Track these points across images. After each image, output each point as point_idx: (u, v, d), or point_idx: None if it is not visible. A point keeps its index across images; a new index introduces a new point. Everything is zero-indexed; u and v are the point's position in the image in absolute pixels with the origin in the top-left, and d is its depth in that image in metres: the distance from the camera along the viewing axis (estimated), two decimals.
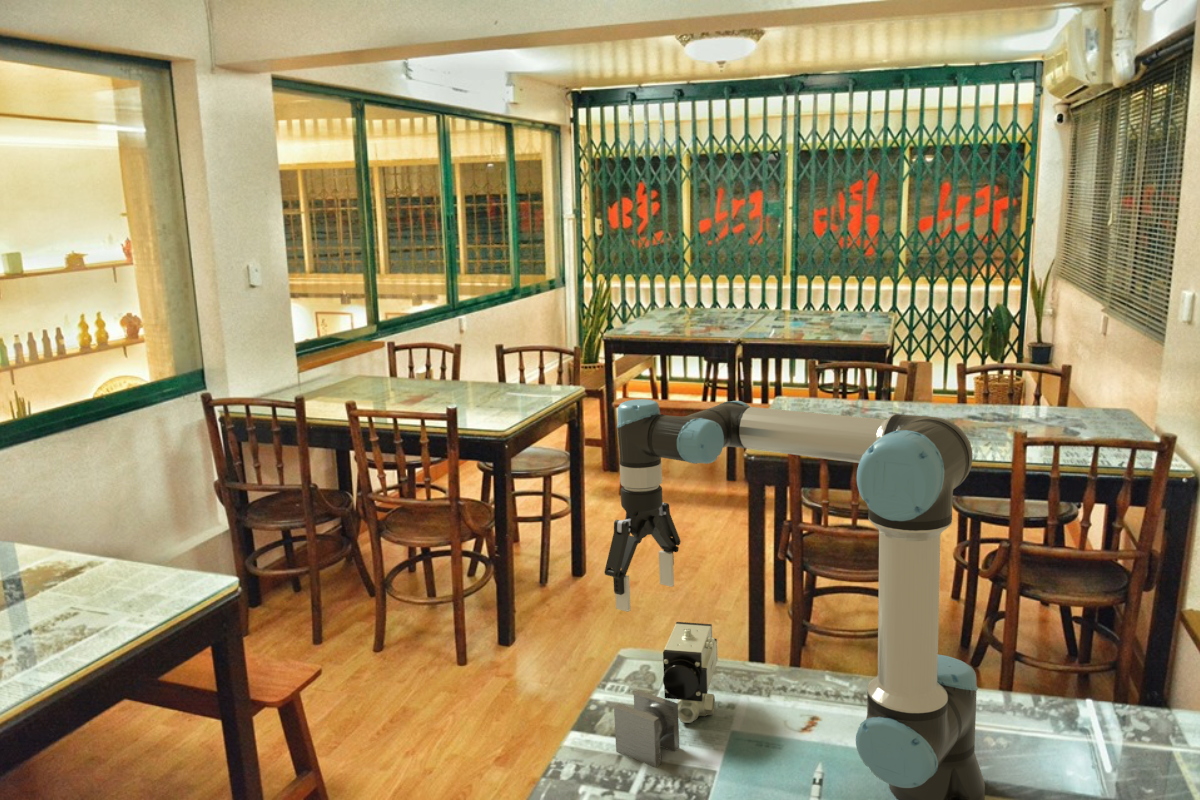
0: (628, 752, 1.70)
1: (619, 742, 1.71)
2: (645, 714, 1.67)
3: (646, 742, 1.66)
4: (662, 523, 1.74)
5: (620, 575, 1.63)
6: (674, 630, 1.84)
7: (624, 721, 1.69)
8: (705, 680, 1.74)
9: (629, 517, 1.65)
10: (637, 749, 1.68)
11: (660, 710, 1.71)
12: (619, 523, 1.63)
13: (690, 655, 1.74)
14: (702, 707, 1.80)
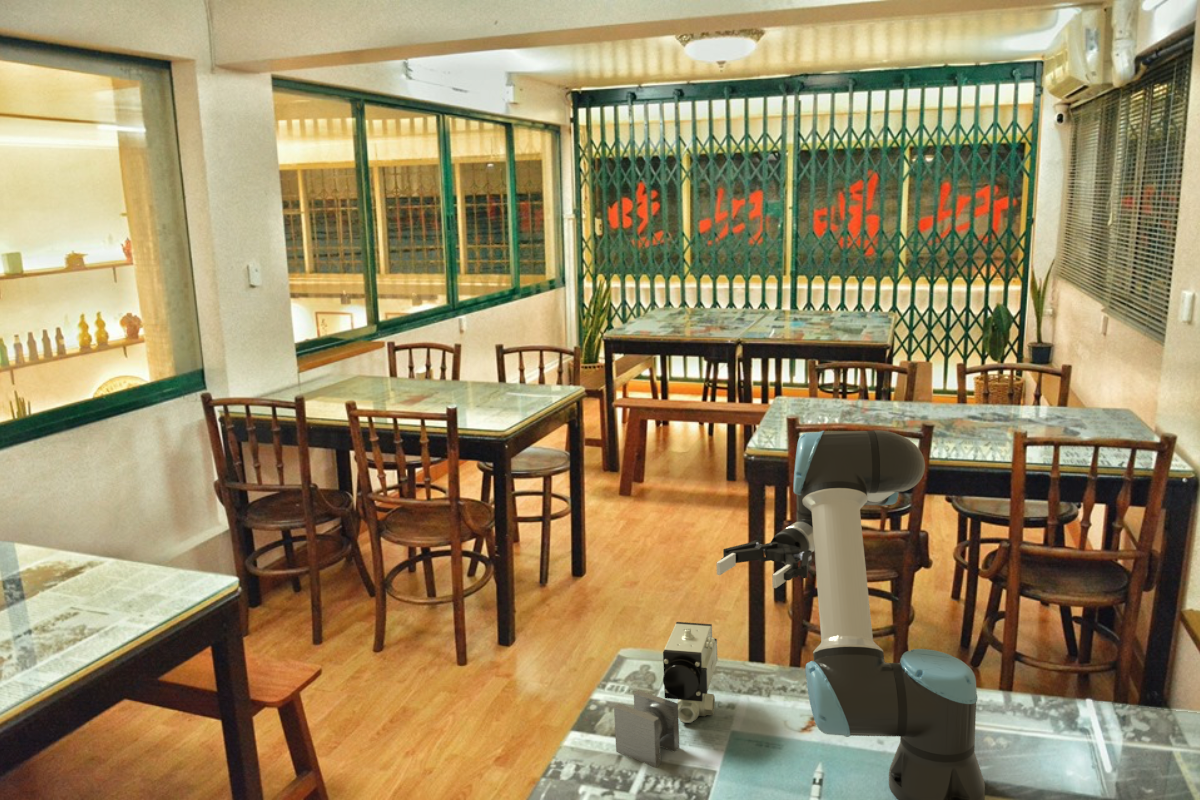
0: (628, 752, 1.70)
1: (619, 742, 1.71)
2: (645, 714, 1.67)
3: (646, 742, 1.66)
4: None
5: (729, 552, 1.99)
6: (674, 630, 1.84)
7: (624, 721, 1.69)
8: (705, 680, 1.74)
9: None
10: (637, 749, 1.68)
11: (660, 710, 1.71)
12: None
13: (690, 655, 1.74)
14: (702, 707, 1.80)
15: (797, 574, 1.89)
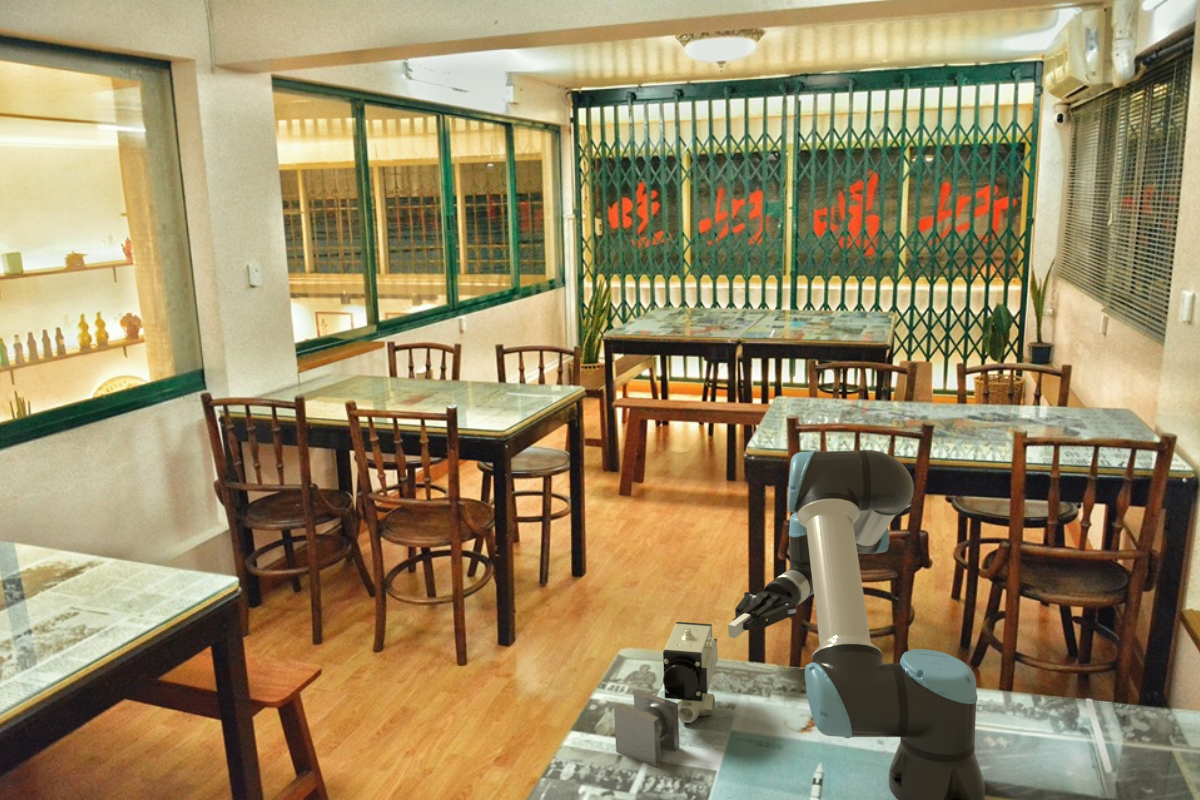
0: (628, 752, 1.70)
1: (619, 742, 1.71)
2: (645, 714, 1.67)
3: (646, 742, 1.66)
4: None
5: (741, 612, 1.98)
6: (674, 630, 1.84)
7: (624, 721, 1.69)
8: (705, 680, 1.74)
9: None
10: (637, 749, 1.68)
11: (660, 710, 1.71)
12: None
13: (690, 655, 1.74)
14: (702, 707, 1.80)
15: (756, 623, 1.95)
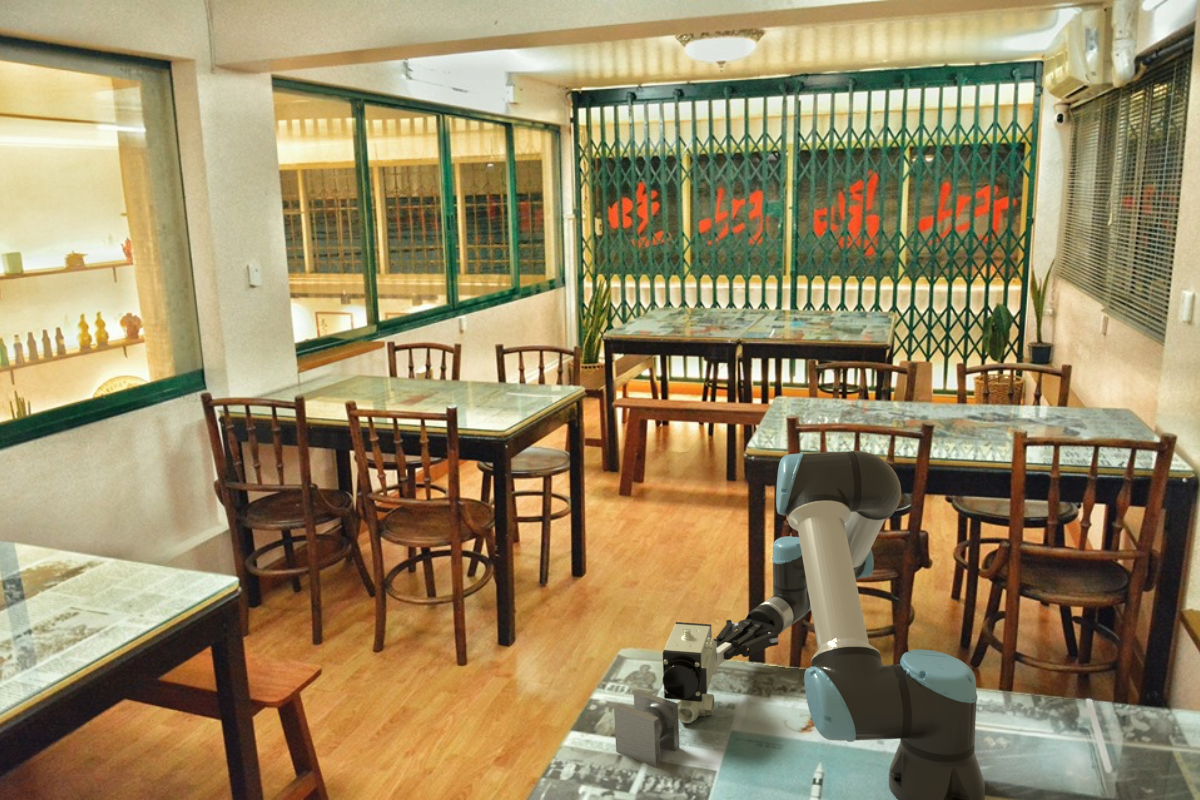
0: (628, 752, 1.70)
1: (619, 742, 1.71)
2: (645, 714, 1.67)
3: (646, 742, 1.66)
4: None
5: (722, 641, 1.94)
6: (673, 630, 1.84)
7: (624, 721, 1.69)
8: (705, 680, 1.74)
9: None
10: (637, 749, 1.68)
11: (660, 710, 1.71)
12: None
13: (690, 655, 1.74)
14: (702, 707, 1.80)
15: (737, 653, 1.92)
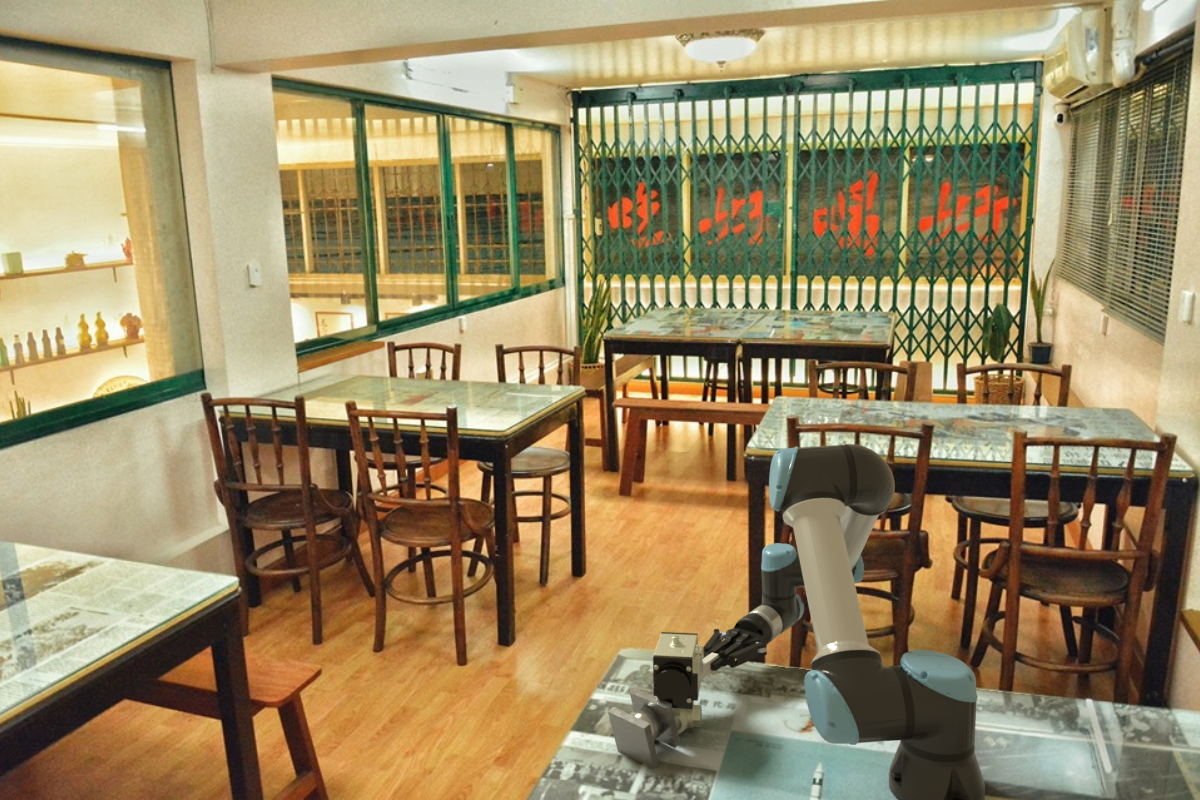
0: (628, 752, 1.69)
1: (618, 743, 1.70)
2: (637, 719, 1.65)
3: (641, 746, 1.65)
4: None
5: (709, 651, 1.90)
6: (660, 639, 1.80)
7: (619, 725, 1.68)
8: (696, 686, 1.69)
9: None
10: (635, 751, 1.68)
11: (655, 710, 1.69)
12: None
13: (681, 660, 1.69)
14: (690, 718, 1.75)
15: (725, 663, 1.87)
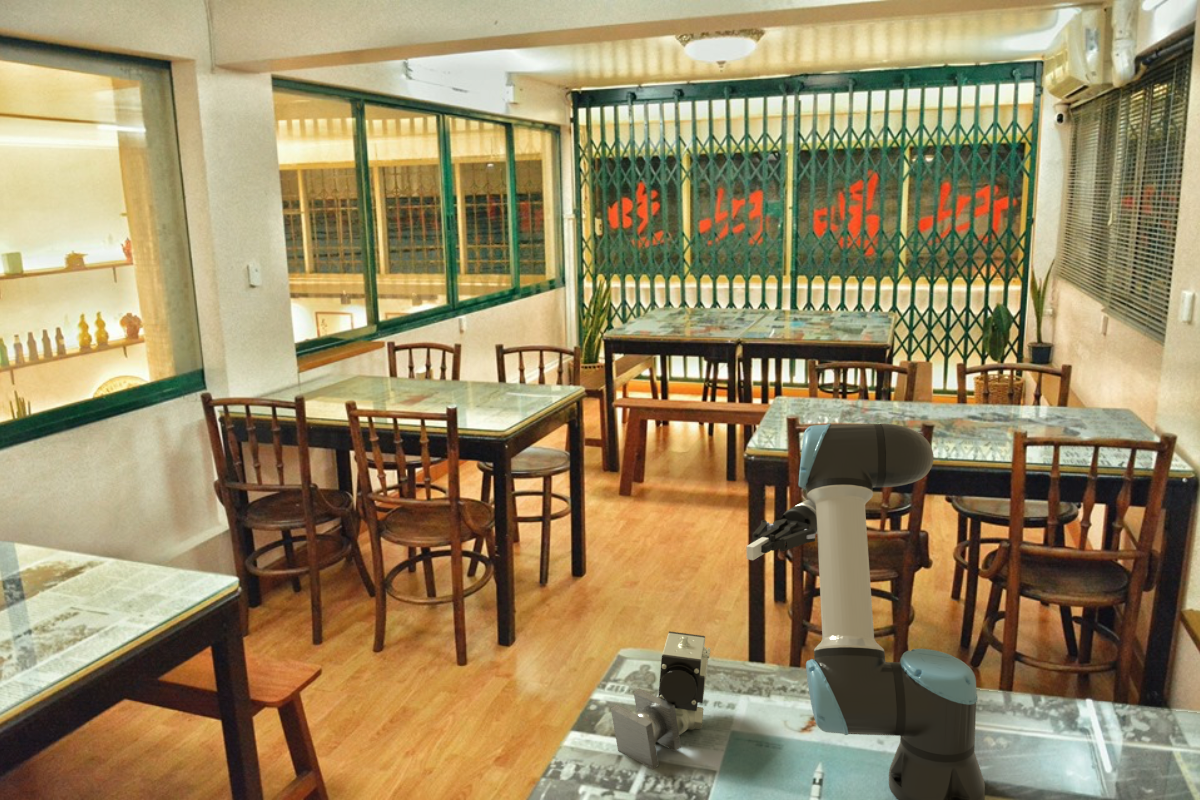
0: (628, 752, 1.70)
1: (619, 742, 1.71)
2: (639, 718, 1.65)
3: (642, 745, 1.66)
4: None
5: (759, 537, 1.92)
6: (668, 638, 1.79)
7: (621, 723, 1.68)
8: (702, 688, 1.69)
9: None
10: (635, 750, 1.68)
11: (658, 711, 1.69)
12: None
13: (690, 661, 1.69)
14: (692, 719, 1.75)
15: (775, 547, 1.90)
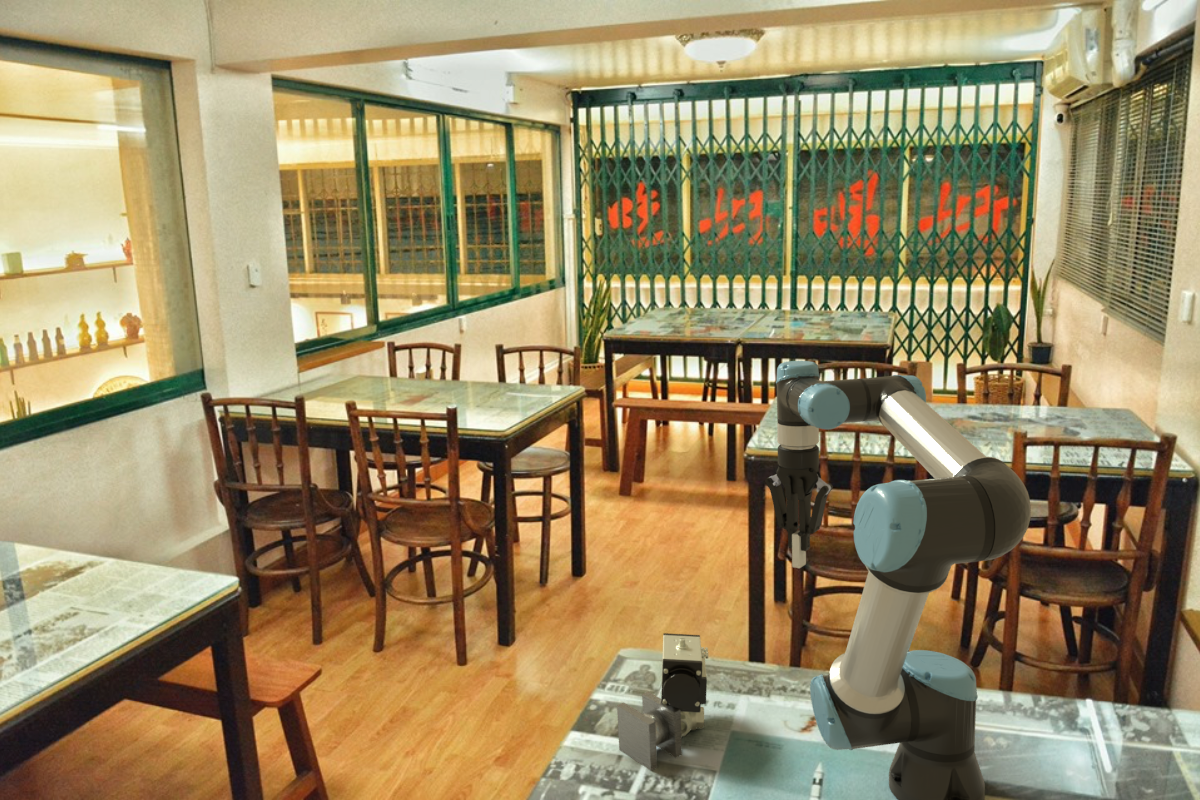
0: (628, 752, 1.70)
1: (621, 741, 1.71)
2: (643, 716, 1.66)
3: (643, 744, 1.66)
4: None
5: (787, 529, 1.75)
6: (665, 641, 1.79)
7: (625, 721, 1.69)
8: (705, 690, 1.69)
9: None
10: (636, 750, 1.68)
11: (663, 714, 1.69)
12: None
13: (691, 663, 1.69)
14: (694, 720, 1.75)
15: None
